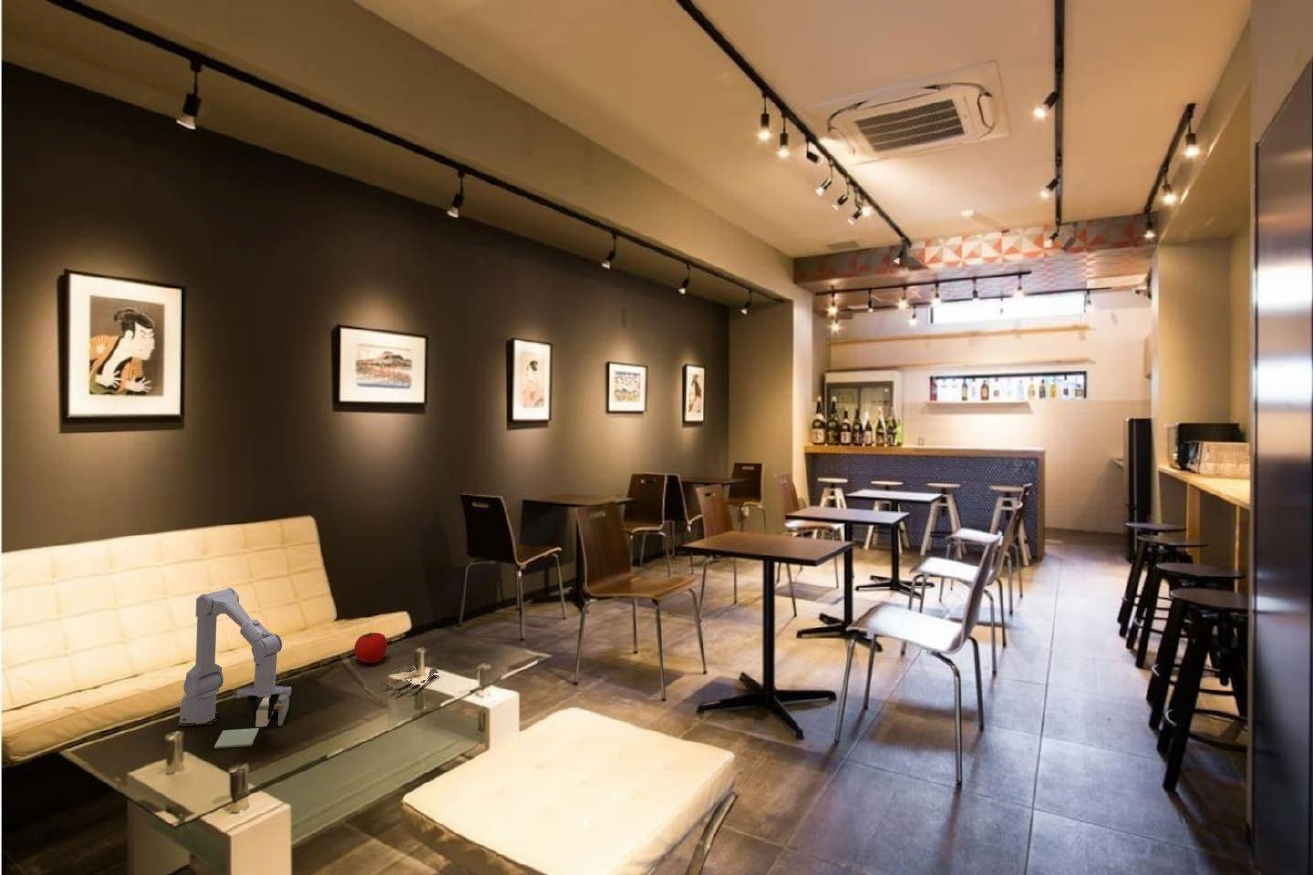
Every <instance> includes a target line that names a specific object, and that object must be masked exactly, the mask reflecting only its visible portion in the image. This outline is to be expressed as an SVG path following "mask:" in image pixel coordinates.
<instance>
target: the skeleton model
mask: <svg viewBox="0 0 1313 875" xmlns="http://www.w3.org/2000/svg"><path fill="white" fill-rule="evenodd" d="M415 668H416V667H415V666H406V667H404V668H396V669H395V670H392V671H391V672H390V674H391V675H394V674H396V675H397V674H398V675H399V674H401V673H413V672H412V671H414V670H415ZM429 670H430V672H429V676H428V678H429V677H431V676H432V675H433V674H434V673H438V672H439V671H438V670H437V667H435V666H433V667H432V668H431V669H430V668H429ZM438 674H439V673H438ZM428 678H427V679H428ZM431 678H432V677H431ZM410 679H411V678H410ZM410 681H412V679H411V680H410ZM410 681H408V680H406V681H405V682H404V683H405V684H404V683H403V684H401V685H399V686H397V685H396V686H395V684H393V685H392V684H388V683H387V682H384V681H383V680H379V682H380V683H381V684H382V685H383V686H385V687H387V688H388V690H389V691H392V693H393V694H396V695H405V694H407V693H410V694H416V693H418V692H419V691H420V690H419V689H418V688H415V690H412V688H411V687H410V686H408V687H407V688H406V689H403V690H402V691H398V690H400V689H402V688H405V687H406V686H405V685H406V683H410ZM425 681H426V680H423V681H421V683H424V682H425ZM404 686H405V687H404Z"/></svg>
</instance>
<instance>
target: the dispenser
mask: <svg viewBox="0 0 1313 875" xmlns="http://www.w3.org/2000/svg"><path fill="white" fill-rule="evenodd" d="M270 696H271V695H270ZM270 696H265V697H264V698H270ZM289 706H290V695H289V696H287V695H280V696H279V698H278V700H277V702H276V704H275V706H274V709H273V714H274V713H278V716H277V726H278V727H281V726H283V723H284V721H285V718H286V717H287V713H288V712H289V709H290V708H289ZM261 728H264V726H262V727H261Z"/></svg>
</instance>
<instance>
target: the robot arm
mask: <svg viewBox="0 0 1313 875" xmlns="http://www.w3.org/2000/svg"><path fill="white" fill-rule="evenodd" d="M195 600H196V601H195V617H196V639H195V640H196V646H195V665H194V666H192V667H191V669H190V670H188V671H187V673H186V675H185V680H184V682H183V691H184V695H183V696H182V698H181V702H180V705H179V706H180V708H179V724H180V723H196V724H199V723H200V724H201V723H206V722H208V721H211V720H212V719H214V718H215V713H217V712H216V711H217V710H216V709H217V708H216V707H217V693H218V692H219V691H220V688H222V687H223V684H224V680H225V679H224V674H223V667H222V666H221V665H219V664H217V663H216V649H217V648H216V644H217V620H218V619H217V617H218V616H219V615H223V614H224V615H226V616H228V618H229V619H231V620H232V621H233V622H234V623H235V624H236V625H238V626H239V627H240V628H239V629H240V630H239V634H241V636H242V638H244V639H245V640H246V641H247V643H249V644H250V647H251V653H252V655H253V662H254V664H255V665H254V679H253V680H254V682H253V686H252V687H247V688H238V689H237V691H236V699H240V698H247V704H248V706H249V707H250V709H251V711H252V714H253V721H256V713H257V709H258V707H259V705H260V704H259V703H260V702H259V701H260V698H265V696H270V695H271V696H270V698H269V712H268V720H269V719H270V720H271V719H272V716H273V714H272V712H273V709H274V706H275V704H276V702H277V700H278V698H279V696H280V695H287V696H289V697H290V696H291V694H292V686H279V685H276V680H277V664H278V663H277V660H278V653H279V652H281V650H282V649H283V642H282V639H281V637H280V636H279V634H277V633H273V632H269V631H268V630H267V629H266V628H265V627H264V626H263V624H261V622H260V621H259V620H258V619H252V618H251V616H249V615H248V613H247V611H245V609H244V608H243V606H242V605H241V604H240V596H239V594H238V593H237V591H236V590H235V589H234V588H232V587H228V588H226V589H222V590H218V591H213V592H208V593H202V594H201V595H199V596H198V597H196V598H195ZM183 719H186V720H183ZM270 720H269V721H270Z"/></svg>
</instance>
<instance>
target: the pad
mask: <svg viewBox="0 0 1313 875" xmlns="http://www.w3.org/2000/svg"><path fill="white" fill-rule="evenodd" d="M259 730H260V727H255V728H254V727H253V728H241V729H227V730H225V729H224V730H223V729H222V732H221V734H219V737H218V739H217V741H216V743H214V744H215V745H214V747H213V748H214V749H220V748H221V749H222V748H223V749H224V748H239V747H251V746H253V744H254V741H255V739H256V737H257V735H258V732H259Z"/></svg>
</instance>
